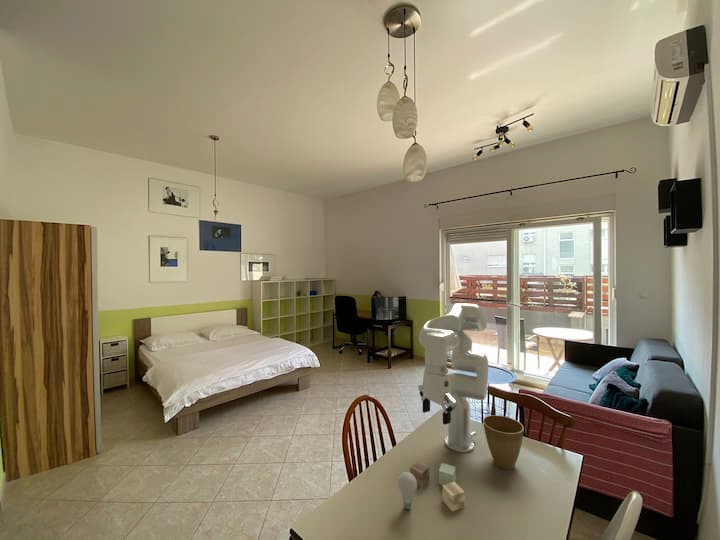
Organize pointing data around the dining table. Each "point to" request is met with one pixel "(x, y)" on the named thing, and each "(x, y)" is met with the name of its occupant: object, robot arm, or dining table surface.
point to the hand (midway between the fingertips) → (436, 417)
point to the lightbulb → (407, 488)
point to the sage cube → (447, 474)
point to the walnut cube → (420, 473)
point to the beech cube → (453, 496)
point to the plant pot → (503, 439)
